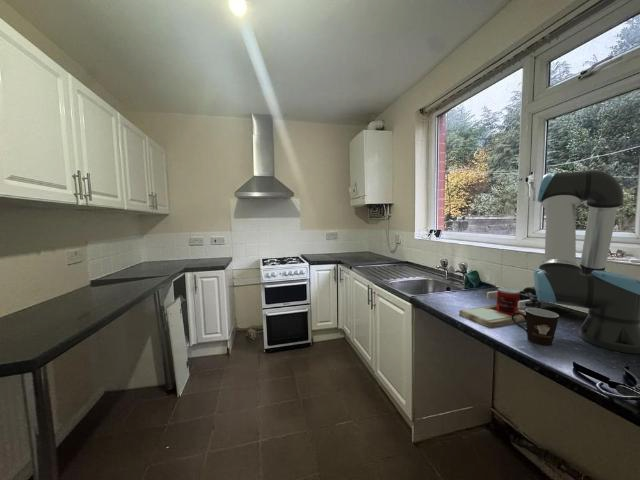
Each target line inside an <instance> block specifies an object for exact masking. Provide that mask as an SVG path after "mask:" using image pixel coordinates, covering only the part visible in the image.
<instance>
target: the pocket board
mask: <svg viewBox="0 0 640 480" xmlns="http://www.w3.org/2000/svg"><path fill="white" fill-rule="evenodd" d="M496 308H497V304H492V305H486V306H479V307H472V308H471V307H470V308H466V309H465V308H464V309H459V313H458V314H459V316H461V317H464V318H466V319H469V320H470V321H474V322H476V323H478V324H480V325H483V326H485V327H488V328H490V329H491V328H496V327H501V326H505V325H506V326H507V325H511V324H512V325H513V324H516V323H515V322H514V321H513V320H512V316H510V315H507V314H504V313H501V312H498V311H496ZM518 312H519V313H522V314H524V315H526V310H524V309H522V308H519V310H518ZM513 319H514V320H515V321H516V322H517V323H521V322H526V320H525V318H524V317H523V316H522V315H520V314H518V315H514V317H513Z"/></svg>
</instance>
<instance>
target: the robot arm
mask: <svg viewBox="0 0 640 480" xmlns="http://www.w3.org/2000/svg"><path fill="white" fill-rule="evenodd" d="M624 195H625V194H624V189H623V187H622V186H621V183H620V182H619V181H618V180H617V179H616V177H615V176H613V175H612V174H610V173H608V172H605V171H603V170H596V169H592V170H591V169H590V170H582V171H580V170H579V171H567V172H554V173H553V172H551V173H546V174H544V175H543V176H542V178H541V182H540V186H539V190H538V195H537V202H538V203H541V206H542V208H544V209H545V238H544V239H545V240H544V241H545V242H544V243H545V244H544V259H542V260H541V261H542V262H541V264H539V267H538V268H537V269H535V270H534V271H533V279H534V280H533V281H534V282H533V283H534V286H528V287H525V288H523V289H522V290H519V291H520V297H519V301H518V308H519V309H526V308H538V309H542V307H543V305H546V303H550V304H553V305H556V304H557V305H563V306H571V307H575V308H583V309H588V310H587V311H588V312H587V316H586V318H585V319H584V321H583V323H582V324H581V326H580V327H579V331H578V336H579V338H581V339H582V340H583V341H586V342H588V343H589V344H592V345H595V346H597V347H599V348H600V347H601V348H603V349H607V350H611V351H615V352H622V353H627V354H635V355H637V354H640V279H638V278H636V277H633V276H630V275H625V274H621V273H617V272H612V271H611V272H606V271H604V270H605V268H606V267H607V262H608V257H609V251H610V248H611V244H612V238H613V232H614V228H615V222H616V218H617V214H618V210H619V209H620V208H621V207H623V203H624ZM582 202H586V205H585V206H586V207H588V208H589V210H588V214H587V220H586V226H585V227H586V228H585V233H584V234H585V235H584V237H583V238H584V239H583V244H582V245H583V246H582V249H581V250H582V251H581V258H580V263H579V265H578V264H577V261H576V258H577V257H576V256H577V253H576V252H577V251H576V248H577V247H576V243H577V242H576V239H577V238H576V232H577V231H576V228H577V227H576V208H577V207H579V206H580V205H581V203H582ZM605 266H606V267H605ZM497 292H498V288H494V289H492V291H488V292H486V299H495V298H496V299H497Z"/></svg>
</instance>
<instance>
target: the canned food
mask: <svg viewBox="0 0 640 480" xmlns="http://www.w3.org/2000/svg"><path fill="white" fill-rule="evenodd" d="M497 289H498V292H497V298H496V305H497V308H496V311H498V312H501V313H504V314H507V315H510V316H512V314H513V313H517V312H518V310H519V309H520V308H518V301H520V299H519V297H520V291H521V290H518V289H515V288H510V287H498V288H497ZM516 315H518V314H516Z"/></svg>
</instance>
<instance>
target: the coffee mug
mask: <svg viewBox="0 0 640 480" xmlns="http://www.w3.org/2000/svg"><path fill="white" fill-rule="evenodd" d="M524 309H525V310H524V311H526V315H524V314H522V313H519V312H517V313H513V314H512V320H513V321H514V322H515V323H514V324H515V325H517V326H518V327H519V328H521V330H524V331H525V333H526V334H527V335H526V337H527V340H528V341H529V342H531V343H533V344H535V345H540V346H544V347H550V346H552V345H553V343H554V339H555V338H554V337H555V334H556V330H557V326H558V321H559V319H560V315H559V314H558V313H557V312H554V311H551V310H548V309H543V308H537V307H526V308H524ZM516 314H520V315H522V316H523V317H524V318H525V320H526V321H525V322H526V328H525V327H524V326H523V325H520V324H519V322H516V321H515V320H514V319H513V317H514V315H516Z"/></svg>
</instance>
